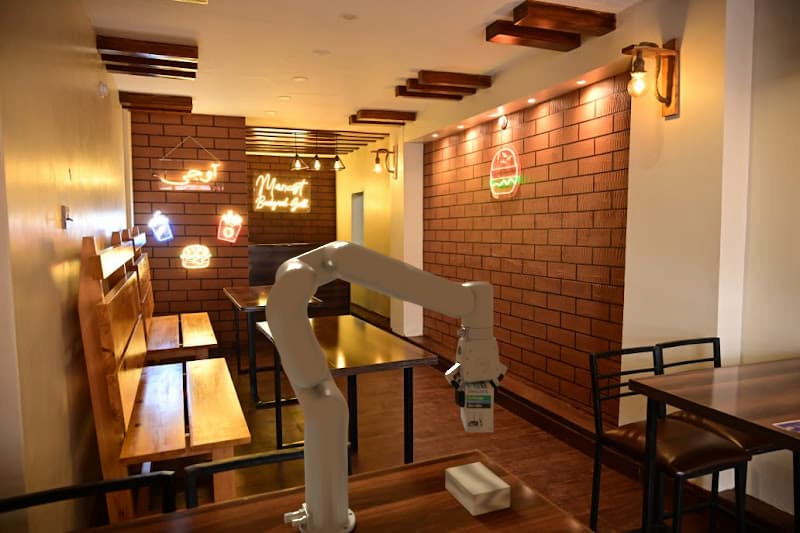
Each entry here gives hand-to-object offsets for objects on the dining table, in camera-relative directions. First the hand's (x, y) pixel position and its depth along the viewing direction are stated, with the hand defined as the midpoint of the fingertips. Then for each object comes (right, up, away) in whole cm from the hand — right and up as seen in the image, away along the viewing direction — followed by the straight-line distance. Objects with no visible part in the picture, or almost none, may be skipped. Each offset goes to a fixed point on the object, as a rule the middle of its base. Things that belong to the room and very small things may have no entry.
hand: (476, 402), depth 127 cm
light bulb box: (0, -6, 0) cm, 6 cm away
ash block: (0, -24, +2) cm, 24 cm away
